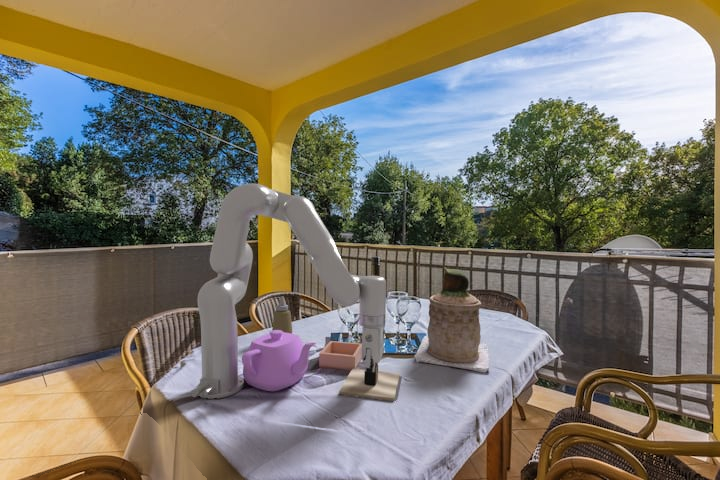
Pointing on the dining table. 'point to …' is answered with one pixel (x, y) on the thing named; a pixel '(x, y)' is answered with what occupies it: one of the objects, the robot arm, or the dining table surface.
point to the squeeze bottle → (282, 317)
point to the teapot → (275, 361)
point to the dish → (340, 355)
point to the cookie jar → (454, 327)
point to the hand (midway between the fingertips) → (371, 381)
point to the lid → (381, 390)
